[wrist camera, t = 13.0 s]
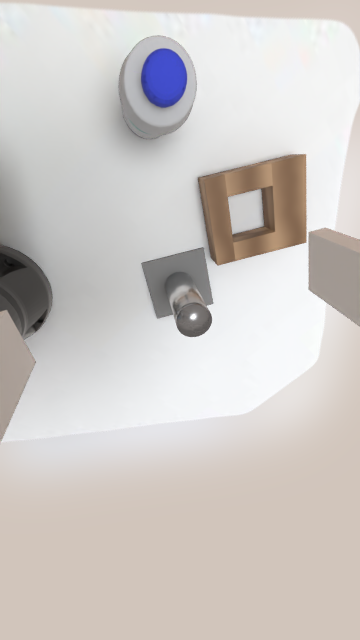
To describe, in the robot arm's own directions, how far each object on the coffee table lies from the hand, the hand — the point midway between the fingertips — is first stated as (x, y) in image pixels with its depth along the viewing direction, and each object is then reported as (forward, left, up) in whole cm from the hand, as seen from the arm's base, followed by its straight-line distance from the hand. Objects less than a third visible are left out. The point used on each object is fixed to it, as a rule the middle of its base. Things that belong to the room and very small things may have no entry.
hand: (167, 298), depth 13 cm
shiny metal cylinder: (+3, -14, -34) cm, 37 cm away
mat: (+3, -14, -35) cm, 38 cm away
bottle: (+4, +10, -35) cm, 37 cm away
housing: (+16, -5, -35) cm, 39 cm away
